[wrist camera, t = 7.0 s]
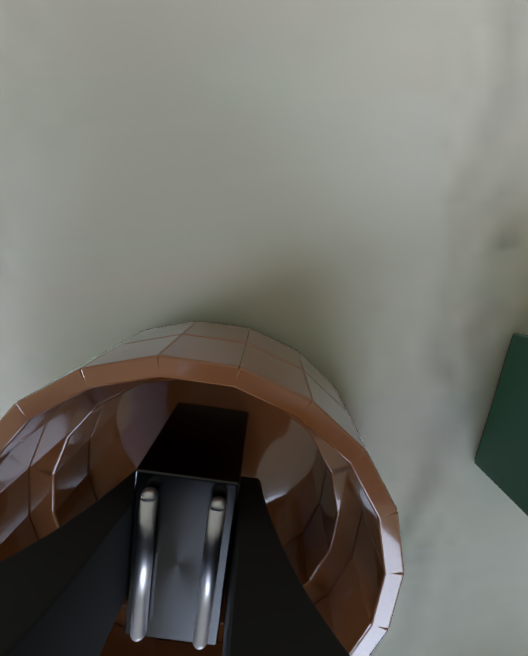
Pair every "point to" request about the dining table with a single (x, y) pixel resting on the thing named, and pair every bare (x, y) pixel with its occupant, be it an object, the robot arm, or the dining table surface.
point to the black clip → (185, 525)
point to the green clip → (509, 428)
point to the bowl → (259, 462)
